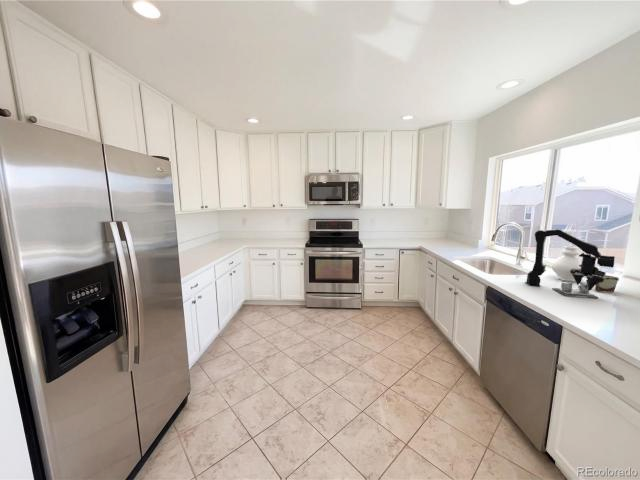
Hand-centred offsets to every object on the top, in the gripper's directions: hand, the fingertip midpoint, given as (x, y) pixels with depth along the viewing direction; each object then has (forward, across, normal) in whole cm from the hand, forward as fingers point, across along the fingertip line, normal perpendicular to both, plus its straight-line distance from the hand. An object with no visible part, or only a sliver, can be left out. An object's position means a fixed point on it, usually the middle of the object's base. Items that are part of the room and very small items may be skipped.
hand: (583, 287), depth 156 cm
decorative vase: (+5, +35, -11) cm, 37 cm away
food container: (+5, +12, -18) cm, 22 cm away
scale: (+4, 0, +4) cm, 6 cm away
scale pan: (+4, 0, +4) cm, 6 cm away
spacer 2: (+3, 0, 0) cm, 3 cm away
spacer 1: (+3, 0, +9) cm, 9 cm away
